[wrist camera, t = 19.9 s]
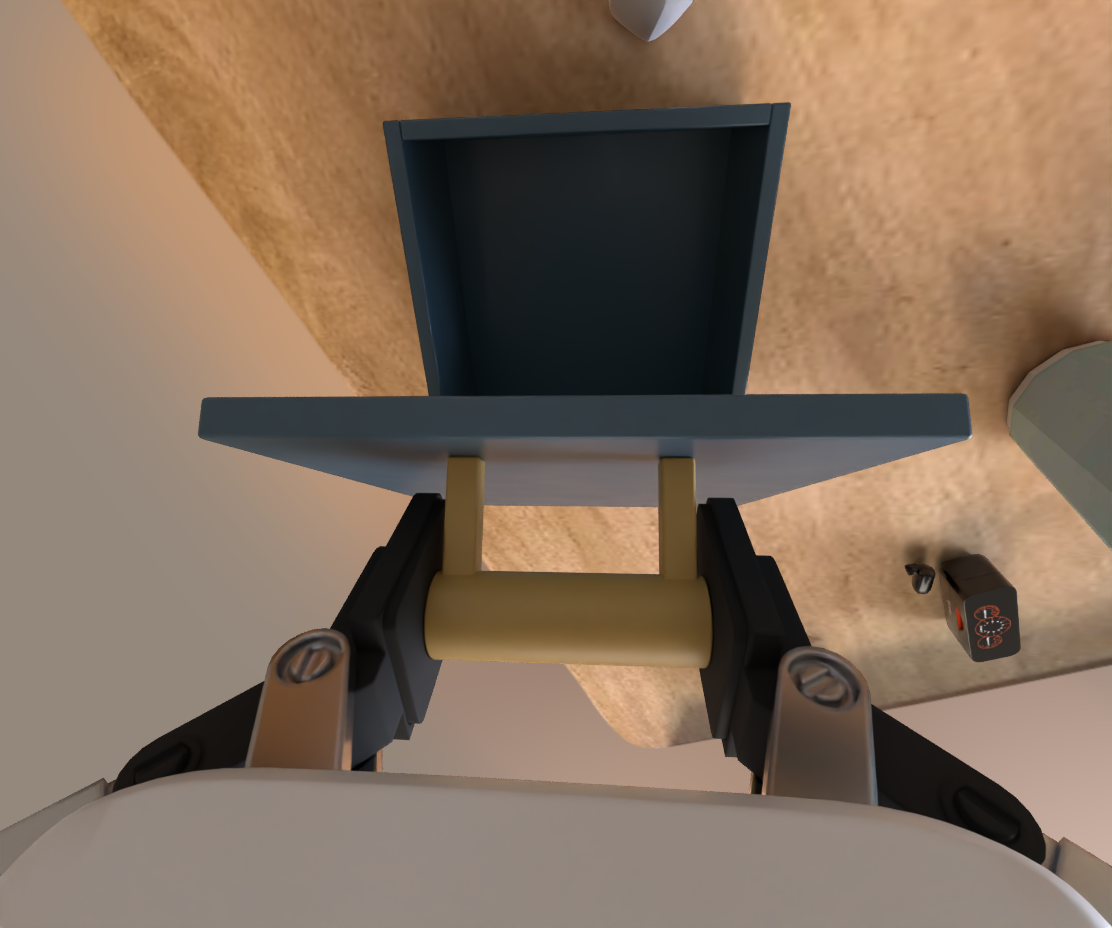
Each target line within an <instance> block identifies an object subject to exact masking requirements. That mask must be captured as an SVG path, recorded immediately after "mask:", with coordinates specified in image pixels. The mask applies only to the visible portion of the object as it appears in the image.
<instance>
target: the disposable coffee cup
mask: <svg viewBox="0 0 1112 928" xmlns="http://www.w3.org/2000/svg"><path fill="white" fill-rule="evenodd" d="M1007 426H1008V428H1009V429H1010V434H1009V435H1010V436H1011V437H1012V439H1013V440H1014V441H1015V442H1016V443H1017V445H1018V446H1019V447H1020V448H1021V450H1022V451H1023V452H1024V453H1025V455H1026V456H1027V457H1028V458H1029V459H1030V460H1031V461H1032V462H1033V463H1034V465H1035V466H1036V467H1037V468H1038V469H1039V470H1040V471H1041V472H1042V474H1043V475H1044V476H1045V477H1046V478H1047V479H1048V480H1049V481H1050V482H1051V484H1052V485H1053V486H1054V487H1055V488H1056V489H1057V490H1058V491H1059V493H1060V494H1061V495H1062V496H1063V497H1064V498H1065V499H1066V500H1067V501H1068V503H1069V504H1070V505H1071V506H1072V507H1073V508H1074V509H1075V510H1076V511H1077V513H1078V514H1079V515H1080V516H1081V517H1082V518H1083V519H1084V520H1085V522H1086V523H1087V524H1088V525H1089V526H1090V527H1091V528H1092V529H1093V530H1094V532H1095V533H1096V534H1097V535H1098V536H1099V537H1100V538H1101V539H1102V541H1103V542H1104V543H1105V544H1106V545H1107V546H1108V547H1109V548H1110V549H1111V551H1112V340H1111V341H1107V342H1106V341H1101V340H1099V341H1095V342H1091V343H1087V344H1083V345H1079V346H1075V347H1071V348H1067V349H1063V350H1061V351H1060V352H1058V353H1057V354H1055V355H1054V356H1052V357H1051V358H1049V359H1048V360H1046V361H1045V362H1043V363H1042V364H1040V365H1039V366H1037V367H1036V368H1034V369H1033V370H1031V371H1030V372H1029V373H1028V374H1027V376H1026V377H1025V379H1024V380H1023V381H1022V383H1021V384H1020V385H1019V387H1018V388H1017V390H1016V391H1015V392H1014V394H1013V395H1012V396H1011V398H1010V399H1009V407H1008V416H1007Z"/></svg>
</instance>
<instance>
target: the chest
mask: <svg viewBox="0 0 1112 928" xmlns="http://www.w3.org/2000/svg"><path fill="white" fill-rule="evenodd" d="M790 108H791V103H789V102H787V103H773V104H771V103H765V104H743V105H721V106H699V107H677V108H656V109H634V110H612V111H590V112H568V113H546V114H524V115H502V116H481V117H459V118H437V119H415V120H401V121H399V120H393V121H383V129H384V135H385V141H386V146H387V152H388V158H389V164H390V170H391V176H392V182H393V188H394V194H395V199H396V205H397V211H398V217H399V223H400V229H401V235H402V241H403V246H404V252H405V258H406V264H407V270H408V276H409V282H410V288H411V293H412V299H413V305H414V311H415V317H416V323H417V329H418V335H419V341H420V346H421V352H422V358H423V364H424V370H425V376H426V382H427V388H428V393H429V396H559V395H740V394H746V388H747V381H748V375H749V369H750V362H751V356H752V350H753V343H754V337H755V331H756V324H757V318H758V311H759V305H760V299H761V292H762V286H763V280H764V273H765V267H766V261H767V254H768V248H769V242H770V235H771V229H772V223H773V216H774V210H775V204H776V197H777V191H778V184H779V178H780V172H781V165H782V159H783V153H784V146H785V140H786V134H787V127H788V121H789V115H790Z"/></svg>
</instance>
